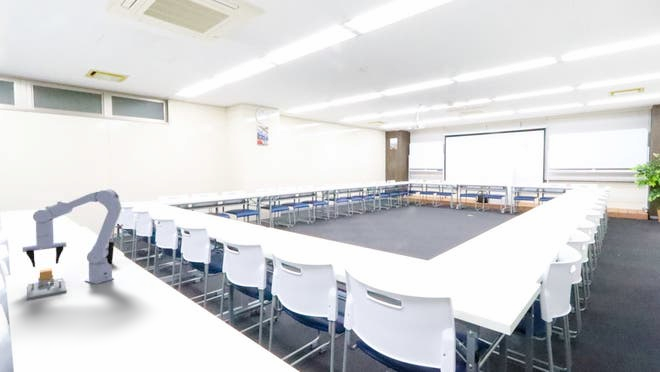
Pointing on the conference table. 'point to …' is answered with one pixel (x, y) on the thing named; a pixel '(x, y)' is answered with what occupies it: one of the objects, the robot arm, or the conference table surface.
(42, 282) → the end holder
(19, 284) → the conference table surface
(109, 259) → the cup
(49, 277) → the block
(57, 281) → the board
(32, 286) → the clips
